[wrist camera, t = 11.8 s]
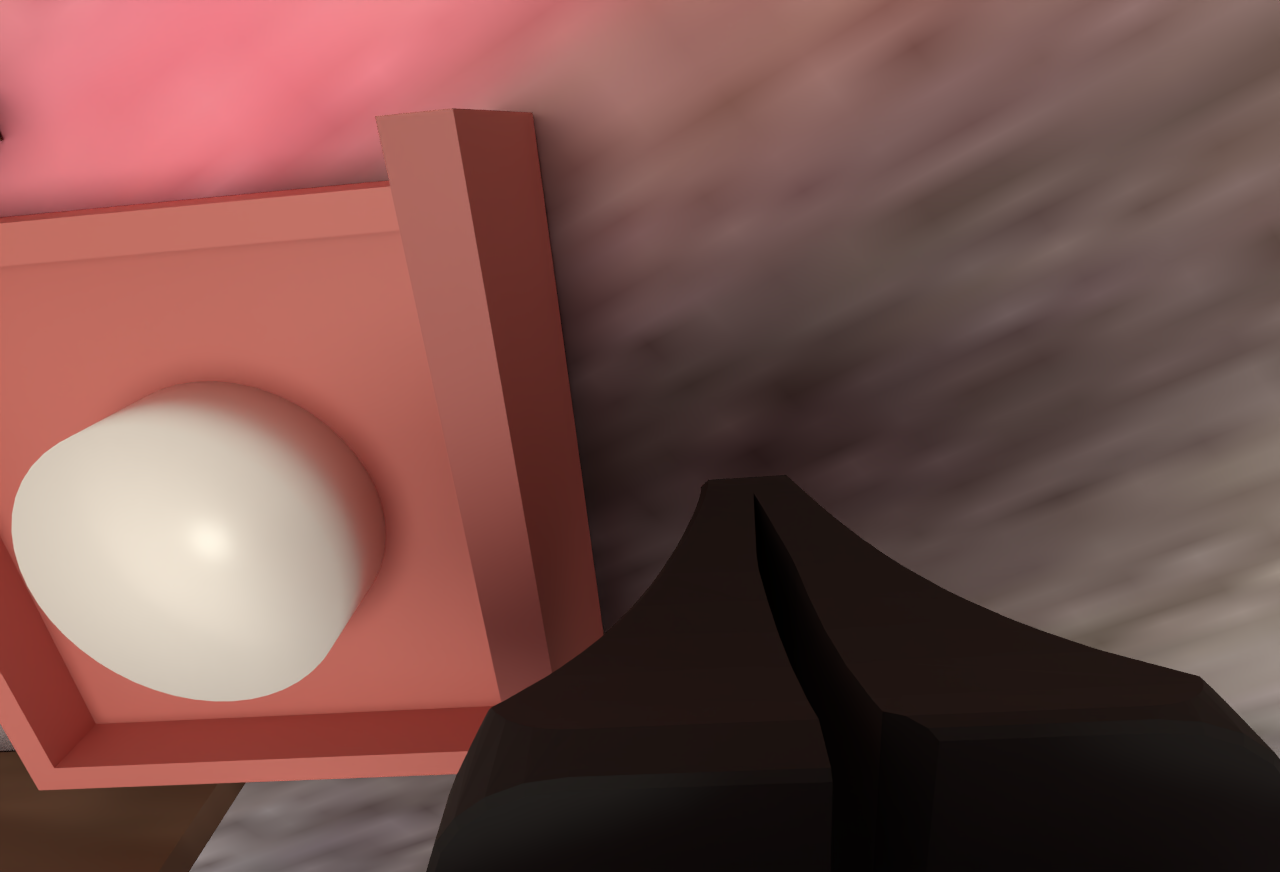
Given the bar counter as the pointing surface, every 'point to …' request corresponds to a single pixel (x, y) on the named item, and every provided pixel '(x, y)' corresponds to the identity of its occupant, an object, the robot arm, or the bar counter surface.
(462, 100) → the bar counter surface
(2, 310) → the drawer
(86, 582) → the white dome
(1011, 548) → the bar counter surface
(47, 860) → the cabinet
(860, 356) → the bar counter surface
